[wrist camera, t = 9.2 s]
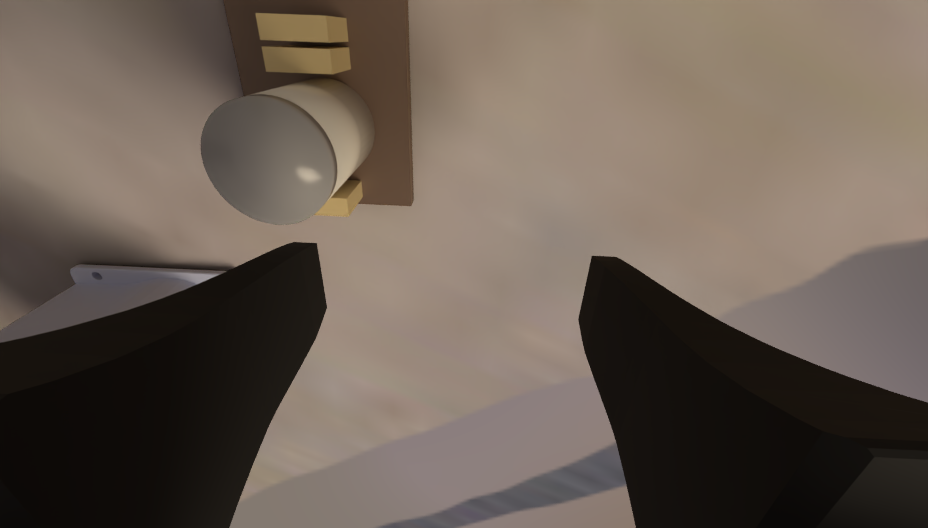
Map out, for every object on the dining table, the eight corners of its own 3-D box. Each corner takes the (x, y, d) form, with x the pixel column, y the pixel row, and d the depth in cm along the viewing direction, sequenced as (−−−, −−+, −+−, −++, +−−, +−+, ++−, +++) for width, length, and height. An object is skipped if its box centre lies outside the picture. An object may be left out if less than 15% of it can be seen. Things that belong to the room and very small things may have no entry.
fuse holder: (273, 194, 20) (240, 219, 18) (195, -190, 14) (122, -247, 11) (413, 200, 20) (403, 226, 17) (402, -183, 14) (382, -239, 11)
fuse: (291, 170, 19) (220, 222, 14) (275, 75, 17) (183, 93, 12) (377, 174, 19) (338, 227, 14) (371, 79, 17) (322, 99, 12)
